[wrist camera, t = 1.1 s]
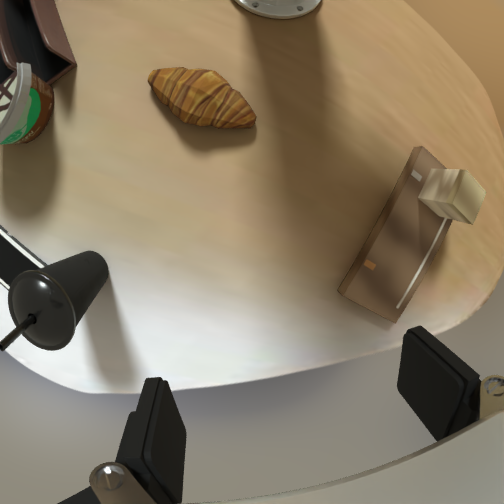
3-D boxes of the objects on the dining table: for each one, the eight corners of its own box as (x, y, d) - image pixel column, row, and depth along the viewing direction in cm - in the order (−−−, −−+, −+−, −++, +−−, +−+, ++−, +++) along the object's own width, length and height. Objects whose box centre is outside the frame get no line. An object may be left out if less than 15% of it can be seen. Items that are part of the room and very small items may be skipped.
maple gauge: (431, 168, 34) (466, 169, 27) (451, 187, 35) (486, 192, 28) (417, 197, 35) (452, 203, 28) (438, 216, 36) (473, 224, 29)
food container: (9, 170, 31) (-38, 173, 21) (-2, 134, 29) (-48, 130, 19) (74, 117, 30) (32, 102, 21) (61, 81, 29) (20, 59, 19)
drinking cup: (128, 289, 36) (59, 386, 17) (80, 303, 36) (-1, 392, 16) (106, 231, 34) (7, 286, 15) (58, 249, 34) (-45, 309, 15)
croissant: (137, 104, 31) (125, 93, 26) (165, 56, 30) (158, 40, 25) (239, 151, 34) (242, 146, 29) (266, 101, 33) (274, 90, 28)
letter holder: (22, 110, 29) (-45, 93, 15) (1, 23, 24) (-47, -6, 10) (78, 65, 29) (23, 25, 15) (50, -16, 24) (10, -57, 10)
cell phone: (39, 311, 36) (35, 313, 35) (-24, 255, 33) (-28, 256, 32) (54, 269, 35) (51, 271, 34) (-12, 212, 32) (-16, 213, 31)
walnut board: (414, 147, 35) (423, 146, 33) (457, 187, 37) (466, 188, 35) (337, 290, 39) (343, 296, 37) (388, 317, 41) (395, 323, 39)
